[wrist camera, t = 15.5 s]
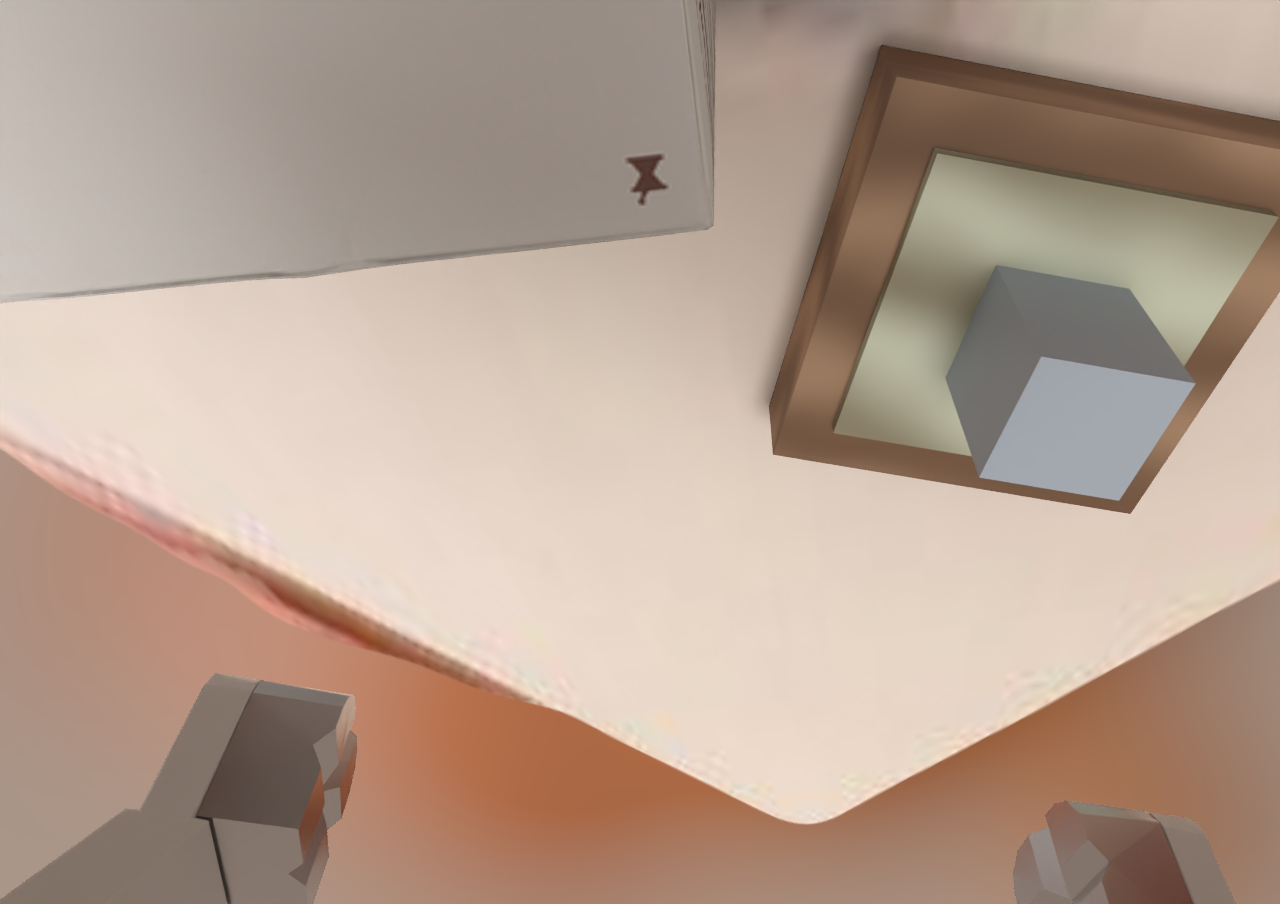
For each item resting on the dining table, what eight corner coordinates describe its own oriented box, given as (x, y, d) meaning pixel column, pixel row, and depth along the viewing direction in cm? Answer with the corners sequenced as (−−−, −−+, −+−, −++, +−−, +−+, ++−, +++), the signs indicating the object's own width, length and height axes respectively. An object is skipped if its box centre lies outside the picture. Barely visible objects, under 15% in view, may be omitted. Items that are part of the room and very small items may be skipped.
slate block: (995, 264, 34) (1041, 356, 29) (1129, 289, 34) (1195, 383, 30) (945, 378, 37) (979, 477, 32) (1068, 399, 37) (1118, 500, 33)
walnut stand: (881, 45, 33) (899, 81, 30) (1312, 127, 34) (1372, 171, 31) (769, 406, 43) (773, 461, 40) (1104, 463, 44) (1134, 521, 41)
